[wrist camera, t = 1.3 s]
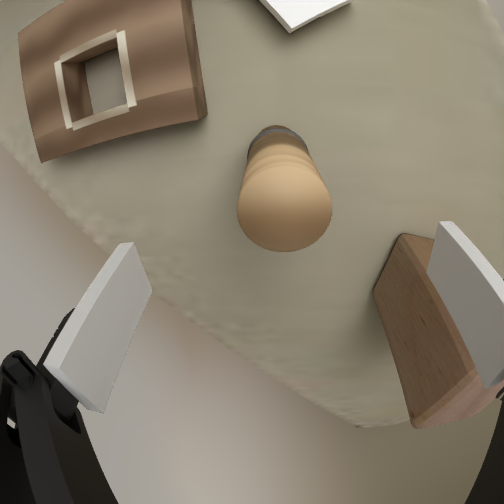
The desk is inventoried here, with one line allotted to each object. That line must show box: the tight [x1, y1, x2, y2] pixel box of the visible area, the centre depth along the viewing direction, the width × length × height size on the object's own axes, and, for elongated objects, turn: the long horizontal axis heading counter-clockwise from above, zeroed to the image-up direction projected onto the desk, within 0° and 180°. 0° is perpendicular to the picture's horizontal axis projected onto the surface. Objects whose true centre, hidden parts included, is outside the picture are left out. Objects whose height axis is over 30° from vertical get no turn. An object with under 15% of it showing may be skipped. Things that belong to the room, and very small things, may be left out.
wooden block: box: [373, 233, 504, 429], centre depth 25 cm, size 10×10×20 cm
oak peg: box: [237, 125, 332, 252], centre depth 20 cm, size 5×5×14 cm
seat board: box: [18, 0, 208, 163], centre depth 19 cm, size 16×18×4 cm
